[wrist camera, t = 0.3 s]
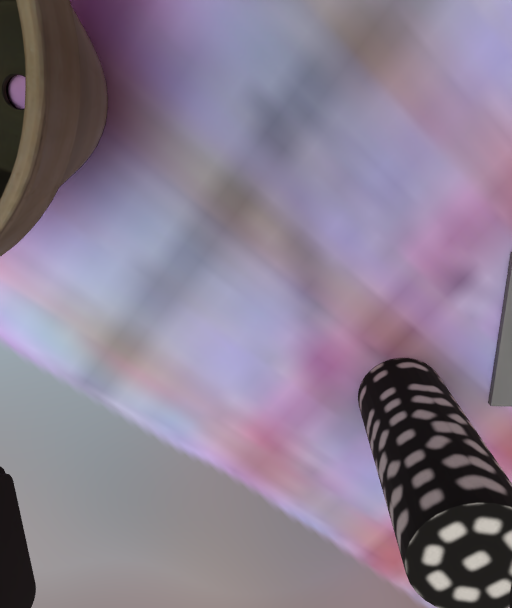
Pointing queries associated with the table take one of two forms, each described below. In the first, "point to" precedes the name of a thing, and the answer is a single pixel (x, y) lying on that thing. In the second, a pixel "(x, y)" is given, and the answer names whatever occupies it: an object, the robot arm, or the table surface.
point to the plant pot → (44, 108)
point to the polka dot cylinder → (439, 488)
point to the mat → (503, 352)
